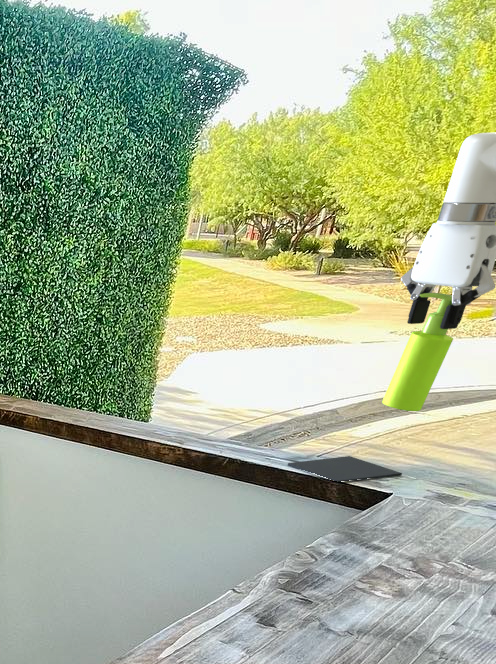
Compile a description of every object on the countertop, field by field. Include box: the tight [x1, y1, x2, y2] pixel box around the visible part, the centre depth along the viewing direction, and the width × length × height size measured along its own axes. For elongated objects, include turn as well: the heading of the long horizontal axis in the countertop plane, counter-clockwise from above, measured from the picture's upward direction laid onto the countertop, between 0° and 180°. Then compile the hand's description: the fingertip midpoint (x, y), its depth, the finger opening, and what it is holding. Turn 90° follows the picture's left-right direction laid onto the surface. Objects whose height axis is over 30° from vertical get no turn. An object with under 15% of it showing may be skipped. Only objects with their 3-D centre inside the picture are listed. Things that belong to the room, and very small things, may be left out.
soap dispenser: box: [381, 292, 454, 412], centre depth 136 cm, size 6×7×20 cm
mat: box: [287, 455, 403, 482], centre depth 152 cm, size 16×11×1 cm
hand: (431, 324), depth 134 cm, fingers closed on soap dispenser, 4 cm apart
